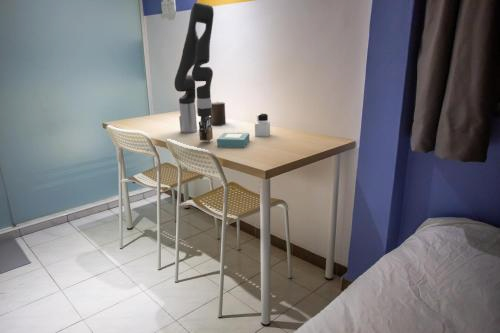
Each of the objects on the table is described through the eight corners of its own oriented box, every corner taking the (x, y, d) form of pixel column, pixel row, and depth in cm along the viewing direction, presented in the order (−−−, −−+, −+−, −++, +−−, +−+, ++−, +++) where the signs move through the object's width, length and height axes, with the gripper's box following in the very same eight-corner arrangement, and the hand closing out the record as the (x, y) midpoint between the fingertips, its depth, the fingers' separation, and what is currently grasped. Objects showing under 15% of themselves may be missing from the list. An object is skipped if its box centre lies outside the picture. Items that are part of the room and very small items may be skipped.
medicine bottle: (270, 133, 214) (269, 113, 210) (267, 136, 207) (266, 115, 204) (258, 133, 216) (257, 112, 212) (254, 136, 209) (254, 115, 206)
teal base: (217, 146, 190) (216, 138, 189) (224, 139, 203) (224, 132, 202) (244, 147, 188) (243, 139, 186) (249, 140, 201) (249, 132, 199)
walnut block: (199, 140, 198) (199, 129, 196) (203, 137, 203) (202, 127, 201) (209, 140, 197) (209, 129, 195) (212, 138, 202) (212, 127, 200)
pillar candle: (223, 125, 239) (222, 102, 234) (208, 125, 241) (207, 102, 236) (227, 122, 248) (226, 100, 243) (213, 122, 250) (212, 100, 245)
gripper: (202, 104, 201) (203, 134, 207) (192, 108, 188) (195, 141, 194) (215, 104, 200) (216, 135, 205) (206, 109, 187) (208, 141, 192)
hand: (206, 137), depth 199 cm, fingers closed on walnut block, 5 cm apart
